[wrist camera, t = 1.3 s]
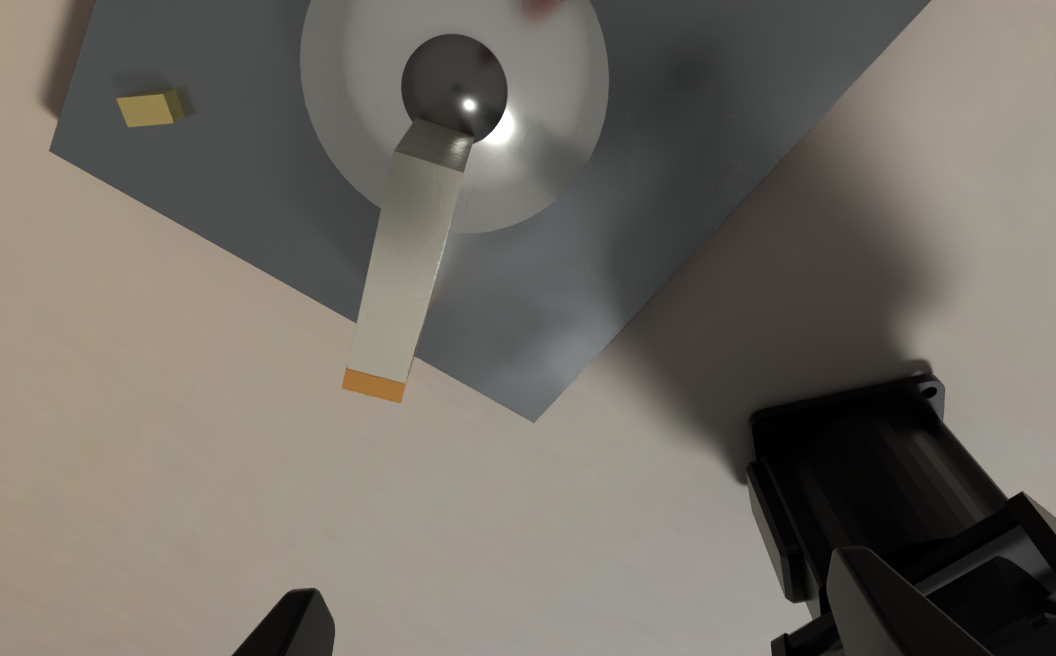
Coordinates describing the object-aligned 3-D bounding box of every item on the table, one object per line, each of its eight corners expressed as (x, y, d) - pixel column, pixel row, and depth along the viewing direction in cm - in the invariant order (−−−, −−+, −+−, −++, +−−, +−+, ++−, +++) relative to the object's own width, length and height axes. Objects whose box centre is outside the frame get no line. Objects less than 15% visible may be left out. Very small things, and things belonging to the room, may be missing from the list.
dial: (344, -142, 13) (269, -176, 9) (648, -25, 14) (689, -13, 11) (287, 273, 18) (223, 358, 15) (513, 336, 20) (508, 430, 16)
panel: (326, -620, 11) (292, -712, 9) (909, -9, 16) (950, -3, 14) (77, 138, 18) (33, 157, 16) (533, 400, 22) (533, 434, 21)
